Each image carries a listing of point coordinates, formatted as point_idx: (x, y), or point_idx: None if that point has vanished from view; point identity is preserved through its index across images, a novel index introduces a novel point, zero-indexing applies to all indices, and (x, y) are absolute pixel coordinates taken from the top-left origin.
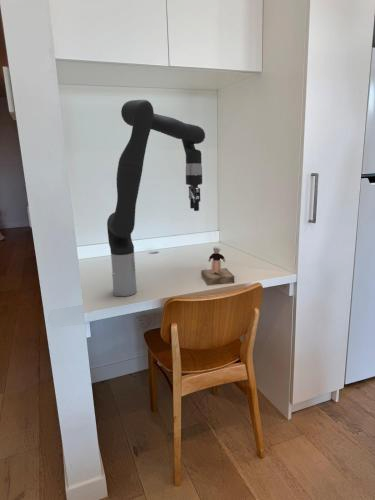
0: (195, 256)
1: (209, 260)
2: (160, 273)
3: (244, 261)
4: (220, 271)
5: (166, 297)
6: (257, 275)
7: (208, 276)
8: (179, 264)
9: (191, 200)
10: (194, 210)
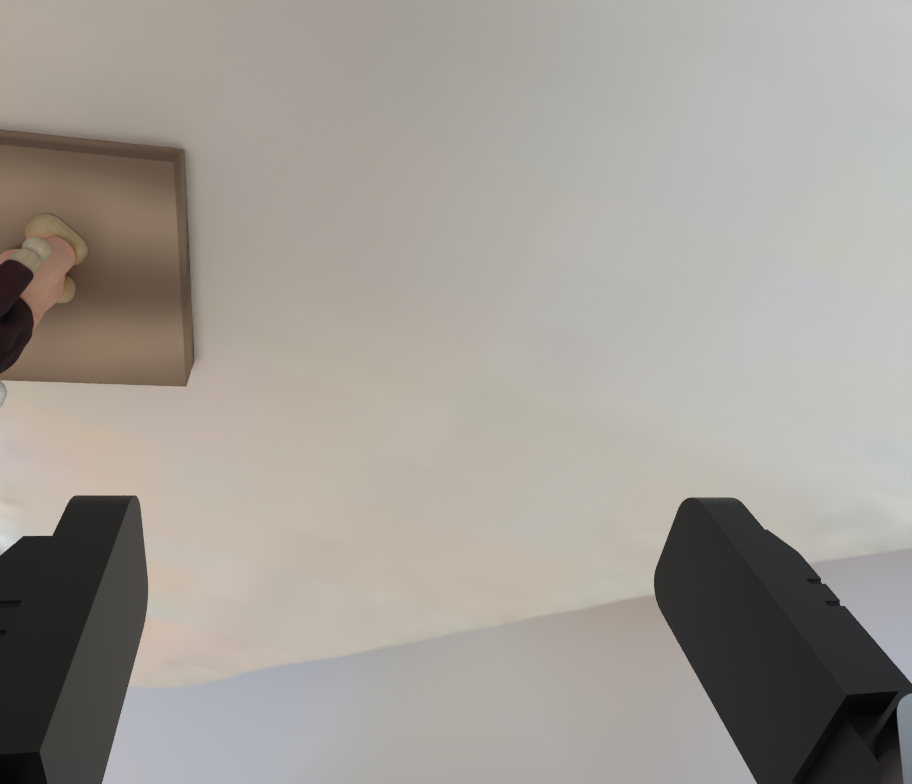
0: (747, 280)
1: (22, 250)
2: None
3: (451, 552)
4: (94, 314)
5: None
6: None
7: None
8: (607, 61)
9: (847, 731)
10: (75, 499)
